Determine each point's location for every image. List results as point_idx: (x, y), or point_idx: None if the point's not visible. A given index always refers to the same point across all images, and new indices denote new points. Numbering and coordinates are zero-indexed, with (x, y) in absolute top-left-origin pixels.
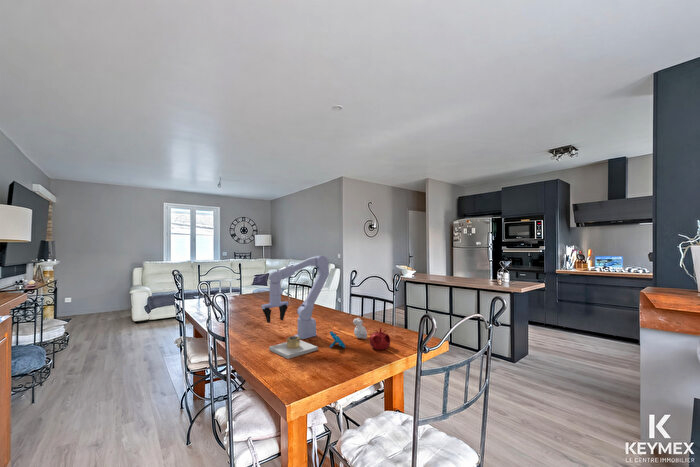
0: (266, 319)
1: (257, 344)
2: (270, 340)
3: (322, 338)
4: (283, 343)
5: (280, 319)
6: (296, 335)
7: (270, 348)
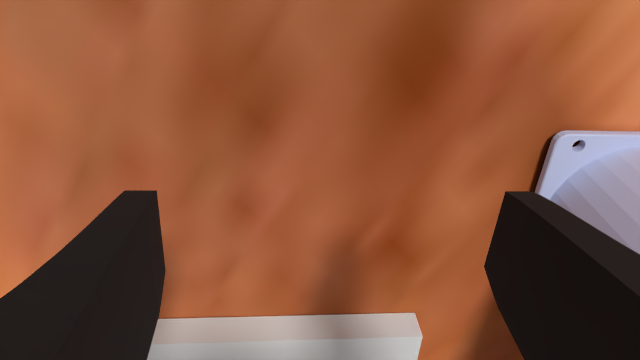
0: (88, 232)
1: (6, 82)
2: (235, 53)
3: None
4: (230, 351)
5: (506, 205)
6: (567, 163)
7: None
